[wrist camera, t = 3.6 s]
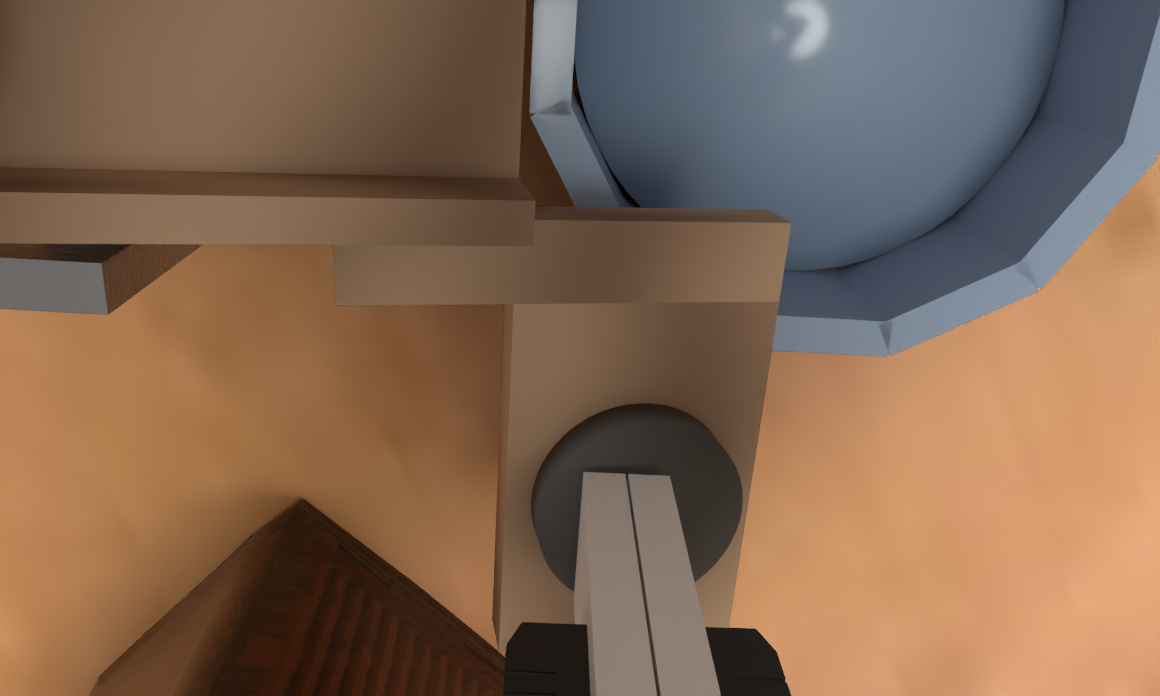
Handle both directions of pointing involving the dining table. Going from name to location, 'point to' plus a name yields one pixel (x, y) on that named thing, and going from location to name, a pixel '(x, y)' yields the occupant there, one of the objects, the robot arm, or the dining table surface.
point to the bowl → (862, 139)
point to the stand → (81, 274)
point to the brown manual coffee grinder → (306, 627)
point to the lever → (416, 234)
